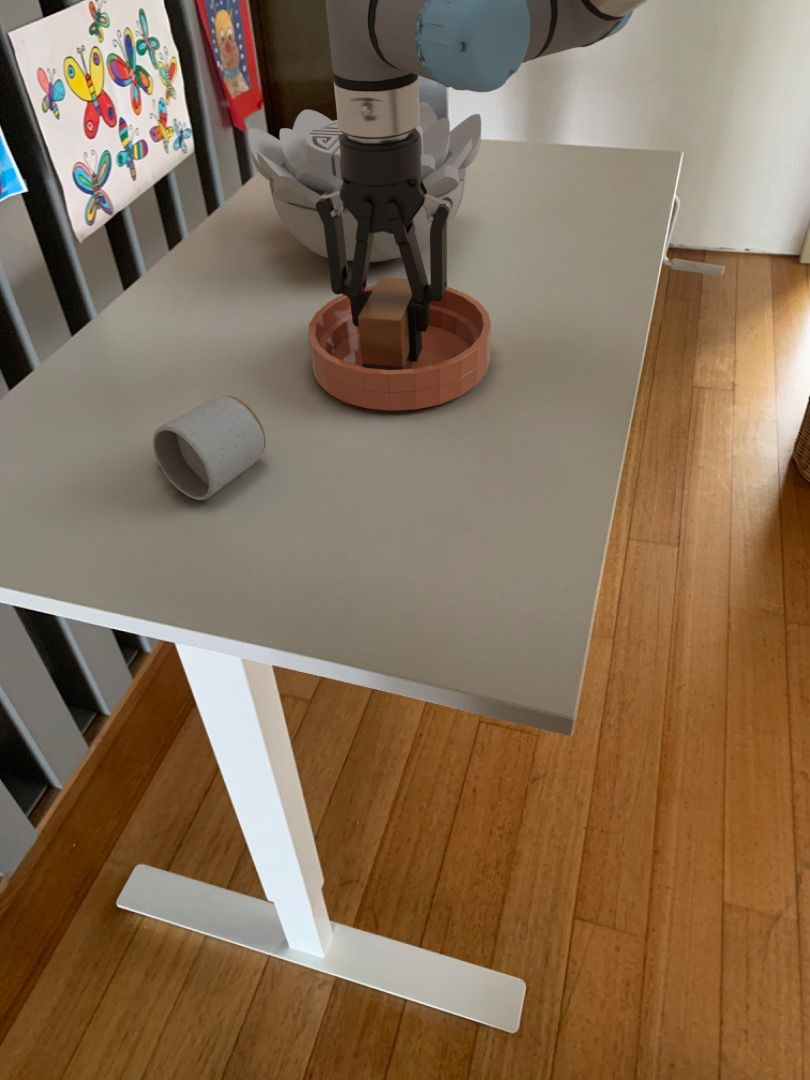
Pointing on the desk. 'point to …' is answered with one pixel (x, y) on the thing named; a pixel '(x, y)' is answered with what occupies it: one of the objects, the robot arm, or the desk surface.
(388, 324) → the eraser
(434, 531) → the desk surface
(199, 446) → the ceramic mug
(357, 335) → the terracotta bowl
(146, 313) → the desk surface
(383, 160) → the robot arm
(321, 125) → the decorative bowl
